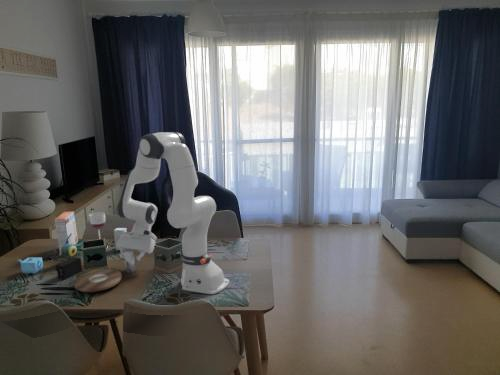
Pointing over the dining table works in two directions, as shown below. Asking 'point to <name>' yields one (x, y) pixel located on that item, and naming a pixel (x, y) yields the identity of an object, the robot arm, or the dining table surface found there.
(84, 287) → the turntable platter
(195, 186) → the robot arm
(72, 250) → the decorative fish
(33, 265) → the teapot
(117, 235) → the skincare box
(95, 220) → the wineglass
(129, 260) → the cast sleeve
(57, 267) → the digital camera
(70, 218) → the cracker box
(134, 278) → the dining table surface
